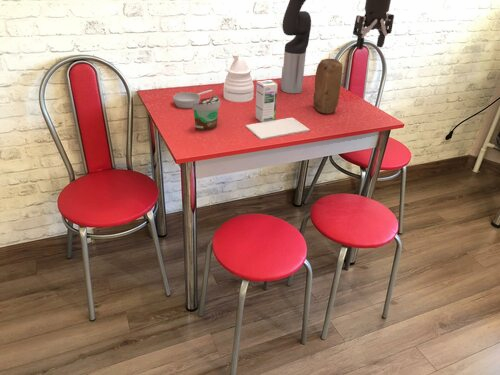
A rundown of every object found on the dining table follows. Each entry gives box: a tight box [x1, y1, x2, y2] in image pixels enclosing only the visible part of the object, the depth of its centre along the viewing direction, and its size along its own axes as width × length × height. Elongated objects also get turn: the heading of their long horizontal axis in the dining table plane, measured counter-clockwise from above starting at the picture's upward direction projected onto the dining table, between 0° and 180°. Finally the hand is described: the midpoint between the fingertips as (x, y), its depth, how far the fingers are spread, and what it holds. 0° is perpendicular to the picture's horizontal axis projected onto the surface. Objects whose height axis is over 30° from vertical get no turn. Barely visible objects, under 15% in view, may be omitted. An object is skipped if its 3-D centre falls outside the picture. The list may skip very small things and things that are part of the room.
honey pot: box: [223, 53, 255, 103], centre depth 175 cm, size 13×13×18 cm
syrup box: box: [255, 79, 278, 123], centre depth 156 cm, size 6×6×14 cm
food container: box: [191, 94, 221, 131], centre depth 150 cm, size 12×6×10 cm, turn 148°
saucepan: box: [172, 89, 213, 109], centre depth 171 cm, size 11×18×4 cm, turn 131°
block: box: [312, 58, 343, 115], centre depth 166 cm, size 11×8×20 cm
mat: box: [245, 117, 311, 141], centre depth 153 cm, size 12×20×1 cm, turn 117°
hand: (369, 48), depth 140 cm, fingers open, 8 cm apart
